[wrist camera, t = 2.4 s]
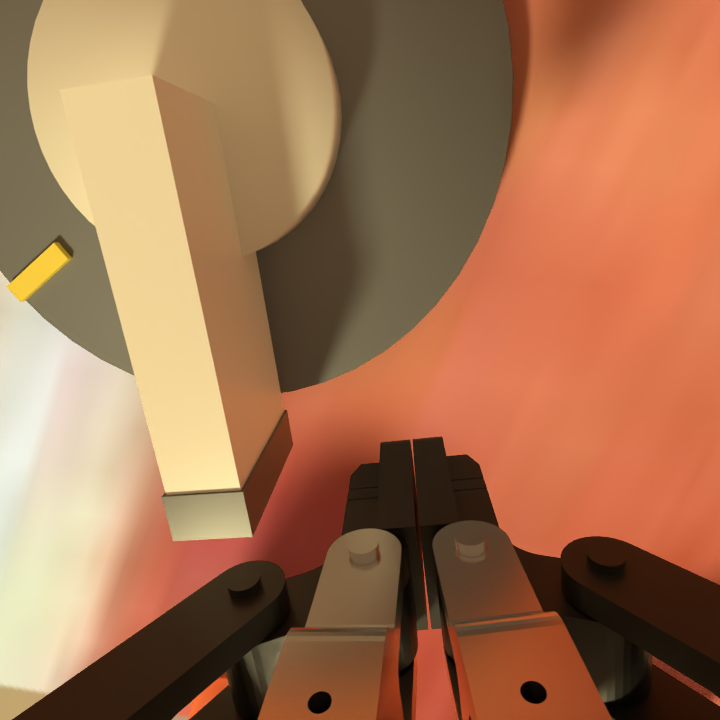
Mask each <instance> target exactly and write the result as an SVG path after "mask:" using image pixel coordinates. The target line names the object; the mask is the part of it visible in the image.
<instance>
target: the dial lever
mask: <svg viewBox="0 0 720 720" xmlns="http://www.w3.org/2000/svg"><path fill="white" fill-rule="evenodd" d="M27 88H28V97H29V106H30V112H31V116H32V121H33V125H34V130H35V133H36V136H37V139H38V142H39V145H40V147H41V150H42V153H43V155H44V157H45V159H46V161H47V164H48V166H49V168H50V170H51V172H52V174H53V175H54V177H55V179H56V180H57V182H58V183H59V185H60V187H61V188H62V190H63V191H64V193H65V194H66V195H67V197H68V198H69V199H70V201H71V202H72V203H73V204H74V206H75V207H76V208H77V209H78V210H79V211H80V212H81V213H82V214H83V215H84V216H85V217H86V219H87V220H88V221H89V222H91V223H92V224H93V225H94V226H95V227H96V231H97V235H98V238H99V242H100V246H101V250H102V254H103V257H104V261H105V265H106V269H107V273H108V276H109V280H110V284H111V288H112V292H113V295H114V299H115V303H116V307H117V311H118V314H119V318H120V322H121V326H122V330H123V333H124V337H125V341H126V345H127V348H128V352H129V356H130V360H131V364H132V367H133V371H134V375H135V379H136V383H137V386H138V390H139V394H140V398H141V402H142V405H143V409H144V413H145V417H146V421H147V424H148V428H149V432H150V436H151V440H152V443H153V447H154V451H155V455H156V459H157V462H158V466H159V470H160V474H161V478H162V481H163V485H164V489H165V493H164V495H163V496H162V500H163V504H164V508H165V512H166V515H167V519H168V523H169V527H170V530H171V534H172V538H173V541H182V540H201V539H221V538H240V537H253V535H254V532H255V530H256V528H257V526H258V523H259V521H260V519H261V517H262V514H263V512H264V510H265V507H266V505H267V503H268V501H269V498H270V496H271V494H272V492H273V489H274V487H275V485H276V482H277V480H278V478H279V476H280V473H281V471H282V469H283V467H284V464H285V462H286V460H287V458H288V455H289V453H290V451H291V448H292V446H293V442H292V436H291V431H290V425H289V419H288V413H287V410H284V408H283V403H282V397H281V391H280V386H279V380H278V374H277V369H276V363H275V357H274V352H273V346H272V340H271V335H270V329H269V323H268V318H267V312H266V306H265V301H264V295H263V290H262V284H261V278H260V273H259V267H258V261H257V256H256V251H258V250H261V249H263V248H265V247H267V246H269V245H271V244H273V243H275V242H277V241H279V240H280V239H281V238H283V237H284V236H286V235H287V234H289V233H290V232H291V231H293V230H294V229H295V228H296V227H297V226H298V225H299V224H300V223H301V222H302V221H303V220H304V219H305V218H306V217H307V216H308V214H309V213H310V212H311V211H312V210H313V208H314V207H315V206H316V204H317V202H318V201H319V199H320V198H321V196H322V194H323V193H324V191H325V189H326V187H327V184H328V182H329V180H330V178H331V176H332V173H333V169H334V166H335V163H336V160H337V156H338V151H339V145H340V140H341V126H342V111H341V97H340V91H339V86H338V80H337V76H336V73H335V70H334V66H333V63H332V60H331V57H330V55H329V52H328V50H327V48H326V46H325V43H324V41H323V39H322V37H321V35H320V33H319V31H318V30H317V28H316V26H315V24H314V22H313V20H312V19H311V17H310V15H309V13H308V12H307V10H306V8H305V7H304V5H303V3H302V2H301V0H43V2H42V5H41V7H40V10H39V13H38V15H37V18H36V20H35V24H34V28H33V32H32V36H31V40H30V47H29V55H28V63H27Z"/></svg>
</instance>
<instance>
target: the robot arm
mask: <svg viewBox="0 0 720 720" xmlns="http://www.w3.org/2000/svg"><path fill="white" fill-rule="evenodd" d="M413 451H414V463H415V475H414V467H413V459H412V450H411V442H410V440H402V441H391V442H381V445H380V463H370V464H361V465H360V466H359V467H358V468H357V470H356V471H355V472H354V473H353V474H352V475H351V478H350V485H349V492H348V498H347V505H346V511H345V518H344V525H343V531H342V536H341V537H339V538H338V539H337V540H336V541H335V542H334V543H333V544H332V545H331V546H330V548H329V549H328V552H327V555H326V558H325V562H324V564H323V565H322V566H320V567H318V568H316V569H314V570H312V571H309V572H306V573H303V574H300V575H297V576H294V577H290V578H287V579H285V575H284V572H283V570H282V569H281V568H280V567H279V566H278V565H276V564H274V563H272V562H268V561H250V562H245V563H242V564H239V565H236V566H234V567H232V568H230V569H228V570H226V571H225V572H223V573H222V574H220V575H219V576H217V577H216V578H214V579H213V580H212V581H210V582H209V583H207V584H206V585H204V586H203V587H202V588H200V589H199V590H197V591H196V592H194V593H193V594H192V595H190V596H189V597H187V598H186V599H184V600H183V601H182V602H180V603H179V604H177V605H176V606H174V607H173V608H171V609H170V610H169V611H167V612H166V613H164V614H163V615H161V616H160V617H159V618H157V619H156V620H154V621H153V622H151V623H150V624H149V625H147V626H146V627H144V628H143V629H141V630H140V631H139V632H137V633H136V634H134V635H133V636H131V637H130V638H128V639H127V640H126V641H124V642H123V643H121V644H120V645H118V646H117V647H116V648H114V649H113V650H111V651H110V652H108V653H107V654H106V655H104V656H103V657H101V658H100V659H98V660H97V661H96V662H94V663H93V664H91V665H90V666H88V667H87V668H85V669H84V670H83V671H81V672H80V673H78V674H77V675H75V676H74V677H73V678H71V679H70V680H68V681H67V682H65V683H64V684H63V685H61V686H60V687H58V688H57V689H55V690H54V691H53V692H51V693H50V694H48V695H47V696H45V697H44V698H43V699H41V700H40V701H38V702H37V703H35V704H34V705H32V706H31V707H30V708H28V709H27V710H25V711H24V712H22V713H21V714H20V715H18V716H17V717H15V718H14V719H12V720H172V719H173V717H174V716H175V715H176V714H177V713H178V712H179V711H181V710H182V709H183V708H184V707H185V706H186V705H188V704H189V703H190V702H191V701H192V700H193V699H195V698H196V697H197V696H198V695H199V694H200V693H202V692H203V691H204V690H205V689H206V688H207V687H209V686H210V685H211V684H212V683H213V682H214V681H216V680H217V679H218V678H219V677H220V676H221V675H223V674H224V673H226V676H227V680H228V684H229V685H228V686H227V687H225V688H224V689H223V690H222V691H221V692H220V693H219V694H217V695H216V696H215V697H214V698H213V699H212V700H211V701H210V702H208V703H207V704H206V705H205V706H204V707H203V708H202V709H200V710H199V711H198V712H197V713H196V714H195V715H194V716H193V717H191V718H190V719H189V720H415V719H416V692H417V660H416V653H417V649H418V638H417V630H427V629H428V620H427V608H426V595H425V583H424V570H423V560H424V569H425V577H426V585H427V594H428V602H429V611H430V619H431V627H432V629H440V628H442V637H443V644H444V654H445V663H446V670H447V675H448V680H449V685H450V690H451V695H452V700H453V705H454V710H455V715H456V720H720V706H718V705H717V704H715V703H713V702H712V701H710V700H709V699H707V698H705V697H704V696H702V695H701V694H699V693H697V692H696V691H694V690H693V689H691V688H690V687H688V686H686V685H685V684H683V683H682V682H680V681H678V680H677V679H675V678H674V677H672V676H670V675H669V674H667V673H666V672H664V671H663V670H661V669H659V668H658V667H656V666H655V665H653V664H652V655H653V656H655V657H656V658H658V659H660V660H661V661H663V662H664V663H666V664H668V665H669V666H671V667H673V668H674V669H676V670H677V671H679V672H681V673H682V674H684V675H685V676H687V677H689V678H690V679H692V680H694V681H695V682H697V683H698V684H700V685H702V686H703V687H705V688H707V689H708V690H710V691H711V692H713V693H714V694H715V695H716V696H718V697H719V698H720V585H718V584H716V583H714V582H711V581H709V580H707V579H705V578H703V577H701V576H699V575H696V574H694V573H692V572H690V571H688V570H686V569H683V568H681V567H679V566H677V565H675V564H673V563H670V562H668V561H666V560H664V559H662V558H660V557H657V556H655V555H653V554H651V553H649V552H647V551H644V550H642V549H640V548H638V547H636V546H634V545H631V544H629V543H627V542H624V541H621V540H618V539H614V538H609V537H600V536H592V537H584V538H580V539H577V540H574V541H572V542H571V543H569V544H568V545H567V546H566V547H565V548H564V549H563V551H562V553H561V558H556V557H550V556H543V555H537V554H533V553H530V552H526V551H524V550H522V549H519V548H517V547H516V546H514V545H512V543H511V541H510V539H509V537H508V535H507V534H506V533H505V532H504V531H503V530H502V529H500V528H499V525H498V522H497V519H496V516H495V513H494V510H493V506H492V503H491V500H490V497H489V494H488V491H487V488H486V484H485V481H484V479H483V475H482V472H481V469H480V466H479V464H478V463H477V462H475V461H474V460H473V459H472V458H471V457H469V456H468V455H456V456H446V453H445V448H444V443H443V438H442V437H432V438H422V439H413ZM415 476H416V484H415ZM416 489H417V492H416ZM421 543H422V545H421ZM422 552H423V558H422Z"/></svg>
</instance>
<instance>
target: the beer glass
mask: <svg viewBox="0 0 720 720" xmlns="http://www.w3.org/2000/svg"><path fill="white" fill-rule="evenodd" d="M228 685H229V684H228V680H227V676H226V673H225V674H223V675H221V676H220V677H219V678H218V679H217V680H216V681H214V682H213V683H212V684H211V685H210V686H209V687H207V688H206V689H205V690H204V691H203V692H202V693H200V694H199V695H198V696H197V697H196V698H195V699H193V702H192V705H191V710H190V714H189V719H190V718H191V717H193V716H194V715H195V714H196V713H197V712H198V711H199V710H200V709H202V708H203V707H204V706H205V705H206V704H207V703H208V702H210V701H211V700H212V699H213V698H214V697H215V696H216V695H217V694H219V693H220V692H221V691H222V690H223V689H224V688H225V687H227V686H228ZM189 719H188V720H189Z"/></svg>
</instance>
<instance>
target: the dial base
mask: <svg viewBox="0 0 720 720" xmlns="http://www.w3.org/2000/svg"><path fill="white" fill-rule="evenodd" d="M42 2H43V0H0V271H1V272H2V273H3V275H4V276H5V277H6V278H7V279H8V281H9V282H10V284H9V285H8V286H7V288H8V289H9V290H10V291H11V292H12V293H13V294H14V295H15V297H16V298H17V299H18V300H19V301H20V302H22V301H27V302H28V303H29V304H30V305H31V306H32V307H33V308H34V309H35V310H36V311H37V312H38V313H39V314H40V315H41V316H42V317H43V318H44V319H46V320H47V321H48V322H49V323H51V324H52V325H53V326H54V327H56V328H57V329H58V330H59V331H61V332H62V333H63V334H64V335H66V336H67V337H68V338H69V339H71V340H72V341H73V342H75V343H76V344H78V345H79V346H81V347H83V348H84V349H86V350H87V351H89V352H90V353H92V354H94V355H95V356H97V357H98V358H100V359H101V360H103V361H105V362H108V363H110V364H112V365H114V366H116V367H118V368H120V369H122V370H124V371H126V372H128V373H130V374H132V375H134V371H133V367H132V364H131V360H130V356H129V352H128V348H127V345H126V341H125V337H124V333H123V330H122V326H121V322H120V318H119V314H118V311H117V307H116V303H115V299H114V295H113V292H112V288H111V284H110V280H109V276H108V273H107V269H106V265H105V261H104V257H103V254H102V250H101V246H100V242H99V238H98V235H97V231H96V227H95V226H94V225H93V224H92V223H91V222H89V221H88V220H87V219H86V217H85V216H84V215H83V214H82V213H81V212H80V211H79V210H78V209H77V208H76V207H75V206H74V204H73V203H72V202H71V201H70V199H69V198H68V197H67V195H66V194H65V193H64V191H63V190H62V188H61V187H60V185H59V183H58V182H57V180H56V179H55V177H54V175H53V174H52V172H51V170H50V168H49V166H48V164H47V161H46V159H45V157H44V155H43V153H42V150H41V147H40V145H39V142H38V139H37V136H36V133H35V130H34V125H33V121H32V116H31V112H30V106H29V97H28V88H27V63H28V55H29V47H30V40H31V36H32V32H33V28H34V24H35V20H36V18H37V15H38V13H39V10H40V7H41V5H42ZM301 2H302V3H303V5H304V7H305V8H306V10H307V12H308V13H309V15H310V17H311V19H312V20H313V22H314V24H315V26H316V28H317V30H318V31H319V33H320V35H321V37H322V39H323V41H324V43H325V46H326V48H327V50H328V52H329V55H330V57H331V60H332V63H333V66H334V70H335V73H336V76H337V80H338V86H339V91H340V97H341V111H342V126H341V140H340V145H339V151H338V156H337V160H336V163H335V166H334V169H333V173H332V176H331V178H330V180H329V182H328V184H327V187H326V189H325V191H324V193H323V194H322V196H321V198H320V199H319V201H318V202H317V204H316V206H315V207H314V208H313V210H312V211H311V212H310V213H309V214H308V216H307V217H306V218H305V219H304V220H303V221H302V222H301V223H300V224H299V225H298V226H297V227H296V228H295V229H294V230H293V231H291V232H290V233H289V234H287V235H286V236H284V237H283V238H281V239H280V240H279V241H277V242H275V243H273V244H271V245H269V246H267V247H265V248H263V249H261V250H258V251H256V256H257V261H258V267H259V273H260V278H261V284H262V290H263V295H264V301H265V306H266V312H267V318H268V323H269V329H270V335H271V340H272V346H273V352H274V357H275V363H276V369H277V374H278V380H279V386H280V391H281V393H283V392H290V391H295V390H298V389H302V388H305V387H309V386H312V385H316V384H319V383H323V382H326V381H328V380H330V379H333V378H335V377H337V376H340V375H342V374H344V373H347V372H349V371H351V370H354V369H356V368H357V367H359V366H361V365H362V364H364V363H366V362H367V361H369V360H371V359H372V358H374V357H376V356H377V355H379V354H381V353H382V352H384V351H385V350H387V349H388V348H389V347H390V346H392V345H393V344H394V343H395V342H397V341H398V340H399V339H401V338H402V337H403V336H404V335H406V334H407V333H408V332H409V331H411V330H412V329H413V328H414V327H415V326H416V325H417V324H418V323H419V322H420V321H421V320H422V319H423V318H424V317H425V315H426V314H427V313H428V312H429V311H430V310H431V309H432V308H433V307H434V306H435V305H436V304H437V303H438V302H439V300H440V299H441V298H442V296H443V295H444V294H445V292H446V291H447V290H448V288H449V287H450V286H451V284H452V283H453V282H454V280H455V279H456V278H457V276H458V275H459V273H460V272H461V270H462V268H463V266H464V265H465V263H466V261H467V259H468V258H469V256H470V254H471V253H472V251H473V249H474V247H475V246H476V244H477V242H478V240H479V238H480V235H481V233H482V230H483V228H484V226H485V223H486V221H487V219H488V216H489V214H490V211H491V209H492V207H493V204H494V201H495V197H496V194H497V190H498V187H499V183H500V179H501V176H502V172H503V169H504V165H505V160H506V154H507V147H508V141H509V134H510V128H511V121H512V93H513V68H512V57H511V46H510V35H509V26H508V21H507V17H506V12H505V7H504V3H503V0H301Z"/></svg>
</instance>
